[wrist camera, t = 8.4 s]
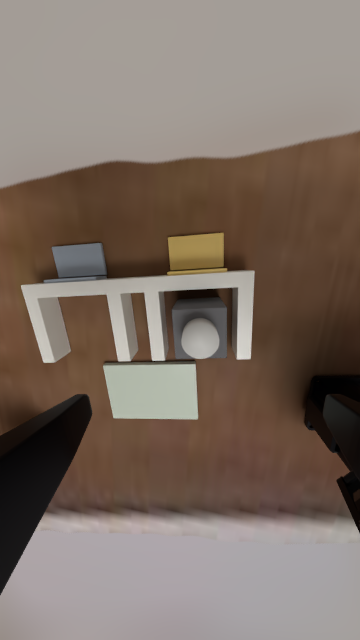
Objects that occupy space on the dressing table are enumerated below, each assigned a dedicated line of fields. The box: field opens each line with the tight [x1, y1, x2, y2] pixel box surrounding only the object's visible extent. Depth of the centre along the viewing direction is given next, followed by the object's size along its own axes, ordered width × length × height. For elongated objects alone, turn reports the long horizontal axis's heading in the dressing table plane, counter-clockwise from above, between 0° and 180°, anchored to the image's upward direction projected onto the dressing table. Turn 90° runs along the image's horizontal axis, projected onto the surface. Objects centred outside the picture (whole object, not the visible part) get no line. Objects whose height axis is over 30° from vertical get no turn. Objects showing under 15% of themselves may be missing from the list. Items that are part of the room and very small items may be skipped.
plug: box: [172, 297, 227, 359], centre depth 16 cm, size 4×4×6 cm
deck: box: [103, 361, 198, 419], centre depth 21 cm, size 10×7×1 cm
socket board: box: [21, 233, 254, 363], centre depth 17 cm, size 20×11×2 cm, turn 94°
